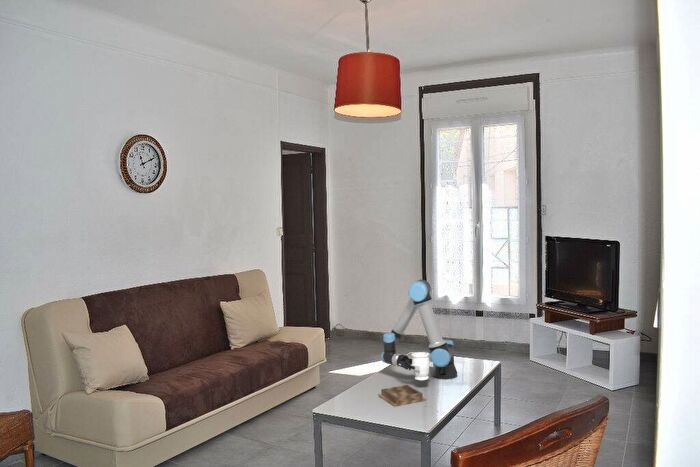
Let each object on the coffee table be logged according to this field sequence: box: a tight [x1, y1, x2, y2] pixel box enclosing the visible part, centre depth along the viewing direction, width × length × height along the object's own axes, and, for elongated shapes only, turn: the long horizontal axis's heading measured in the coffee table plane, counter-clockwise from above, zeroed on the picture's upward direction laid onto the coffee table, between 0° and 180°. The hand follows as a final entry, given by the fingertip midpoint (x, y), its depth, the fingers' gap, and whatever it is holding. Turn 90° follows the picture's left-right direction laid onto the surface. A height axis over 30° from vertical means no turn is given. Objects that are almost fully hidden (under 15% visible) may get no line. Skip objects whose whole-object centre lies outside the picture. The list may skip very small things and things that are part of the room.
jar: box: [411, 351, 430, 381], centre depth 327 cm, size 11×10×15 cm
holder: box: [377, 384, 427, 408], centre depth 311 cm, size 20×20×4 cm
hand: (426, 366), depth 323 cm, fingers closed on jar, 10 cm apart
